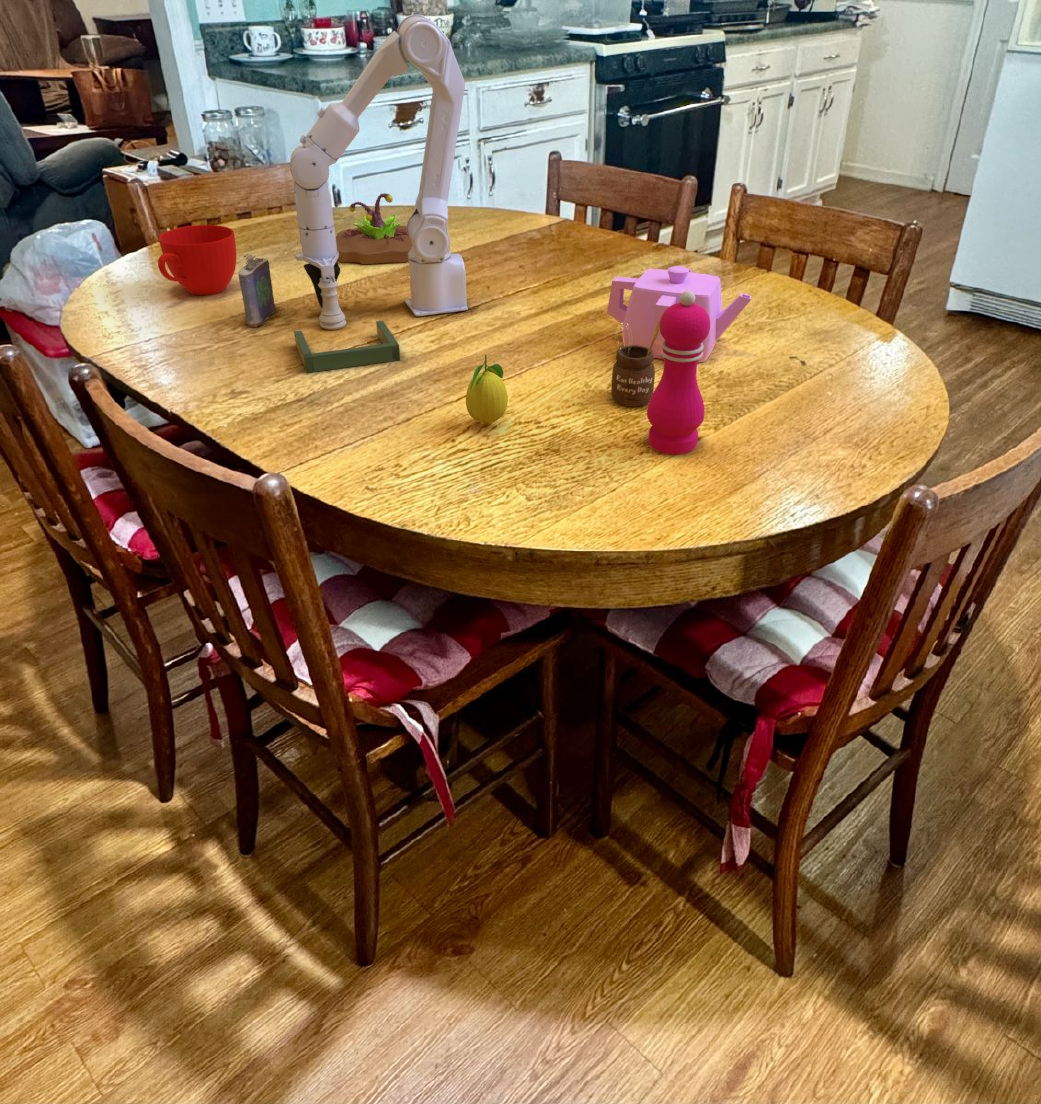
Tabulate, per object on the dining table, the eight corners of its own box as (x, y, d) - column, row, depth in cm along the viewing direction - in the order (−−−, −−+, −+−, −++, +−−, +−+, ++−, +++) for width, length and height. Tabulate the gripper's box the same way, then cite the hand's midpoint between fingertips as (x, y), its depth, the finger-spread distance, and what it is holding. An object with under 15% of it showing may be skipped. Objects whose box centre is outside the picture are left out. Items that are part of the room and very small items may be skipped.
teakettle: (598, 336, 147) (602, 260, 140) (685, 320, 153) (693, 246, 146) (655, 374, 134) (663, 293, 127) (747, 355, 140) (759, 276, 133)
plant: (423, 264, 178) (419, 206, 172) (325, 264, 179) (317, 206, 172) (432, 236, 195) (429, 182, 188) (343, 236, 195) (336, 181, 189)
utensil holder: (609, 389, 130) (614, 308, 123) (653, 390, 130) (660, 309, 123) (611, 407, 125) (616, 324, 118) (656, 407, 125) (664, 324, 118)
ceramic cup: (140, 303, 160) (126, 246, 155) (201, 275, 173) (190, 221, 168) (199, 312, 156) (187, 254, 151) (257, 283, 169) (248, 228, 164)
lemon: (471, 439, 117) (469, 367, 112) (456, 421, 122) (453, 351, 116) (518, 430, 119) (518, 359, 114) (501, 412, 124) (500, 343, 118)
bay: (384, 334, 148) (383, 320, 146) (400, 360, 139) (399, 344, 138) (296, 346, 144) (293, 331, 142) (306, 373, 135) (304, 357, 134)
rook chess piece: (351, 322, 152) (346, 275, 148) (338, 331, 149) (332, 284, 144) (328, 319, 153) (322, 272, 149) (314, 328, 150) (308, 281, 145)
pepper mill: (639, 431, 119) (651, 281, 108) (693, 429, 119) (710, 280, 108) (650, 458, 113) (664, 302, 102) (706, 455, 114) (727, 300, 102)
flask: (258, 327, 150) (247, 263, 144) (242, 327, 151) (230, 262, 145) (279, 309, 158) (268, 247, 152) (263, 308, 158) (252, 246, 152)
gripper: (285, 216, 151) (297, 296, 159) (298, 239, 140) (309, 323, 148) (327, 213, 153) (337, 291, 161) (343, 235, 142) (352, 318, 150)
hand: (326, 306), depth 154 cm, fingers closed
